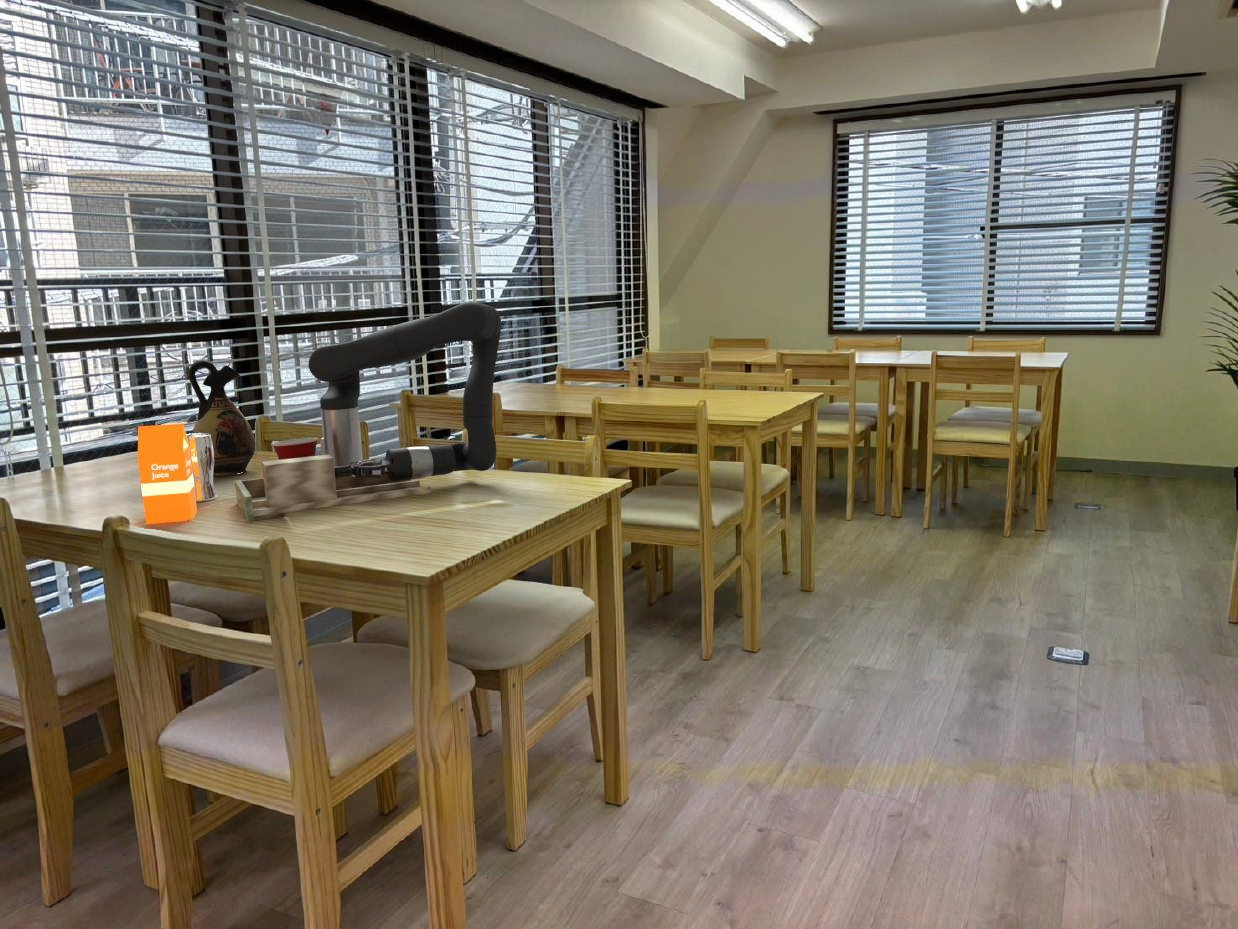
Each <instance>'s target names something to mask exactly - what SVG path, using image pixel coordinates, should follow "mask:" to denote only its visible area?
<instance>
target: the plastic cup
mask: <svg viewBox="0 0 1238 929" xmlns="http://www.w3.org/2000/svg"><path fill="white" fill-rule="evenodd" d="M318 440H319V437H301V438H294V439H286V440H280V441H276V442H271V444H270V445H271V446H272V447H273V448H274V451H275V453H276V456H277V457H278V459H277V460H283V459H292V458H301V457H310V456H316V451H317V443H318Z"/></svg>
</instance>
